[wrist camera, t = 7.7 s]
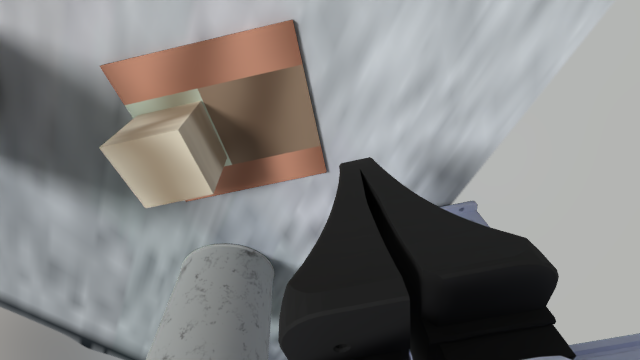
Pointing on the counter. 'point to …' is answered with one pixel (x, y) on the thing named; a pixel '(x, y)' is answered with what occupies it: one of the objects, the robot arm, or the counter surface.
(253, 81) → the board
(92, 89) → the counter surface
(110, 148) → the birch block
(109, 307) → the counter surface
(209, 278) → the grey marbled cylinder
